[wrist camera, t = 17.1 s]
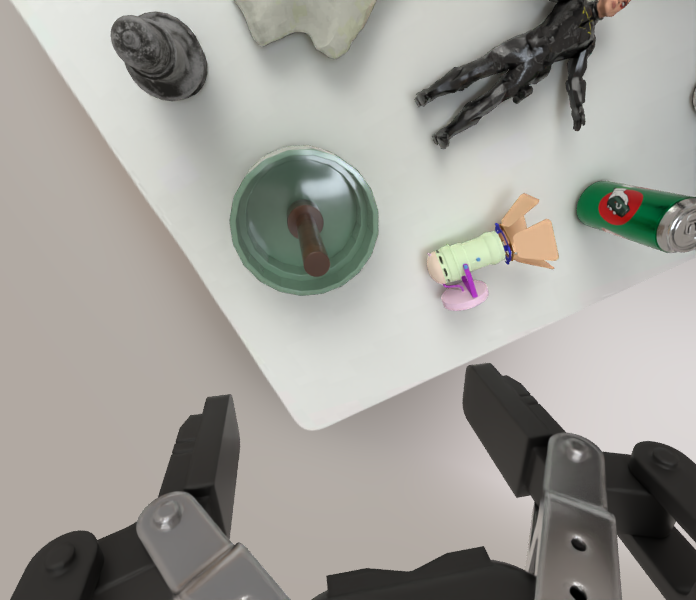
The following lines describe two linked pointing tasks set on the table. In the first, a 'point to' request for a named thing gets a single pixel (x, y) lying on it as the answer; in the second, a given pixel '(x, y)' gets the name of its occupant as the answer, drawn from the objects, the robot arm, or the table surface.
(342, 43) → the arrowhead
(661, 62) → the table surface
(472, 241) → the spotlight
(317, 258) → the muddler
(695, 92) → the beverage can
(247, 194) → the bowl
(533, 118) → the table surface
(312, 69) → the table surface
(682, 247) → the soda can
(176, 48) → the chess piece
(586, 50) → the action figure
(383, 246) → the table surface
